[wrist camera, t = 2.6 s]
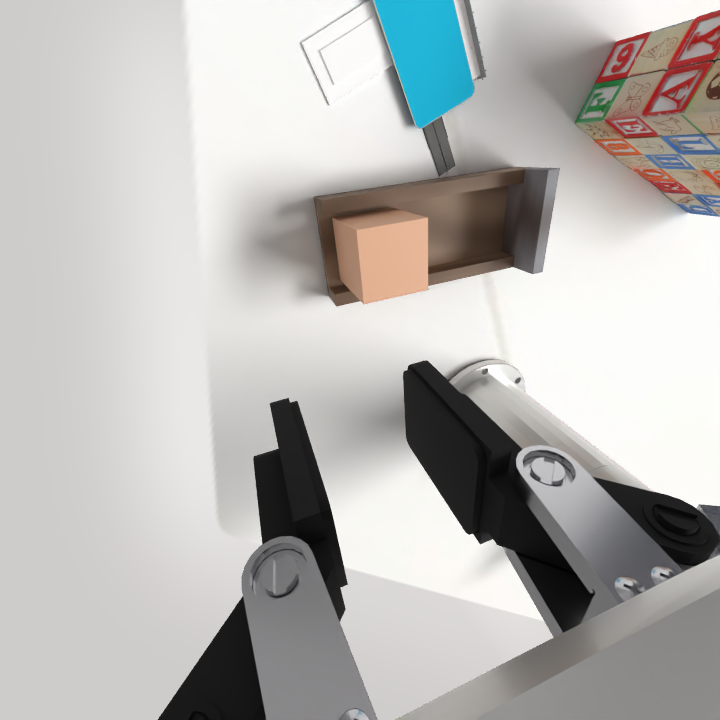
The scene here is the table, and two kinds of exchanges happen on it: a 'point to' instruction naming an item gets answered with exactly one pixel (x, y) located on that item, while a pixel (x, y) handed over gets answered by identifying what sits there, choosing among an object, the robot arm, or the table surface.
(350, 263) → the block
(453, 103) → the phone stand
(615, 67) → the stack of blocks
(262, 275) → the table surface
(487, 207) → the chute
